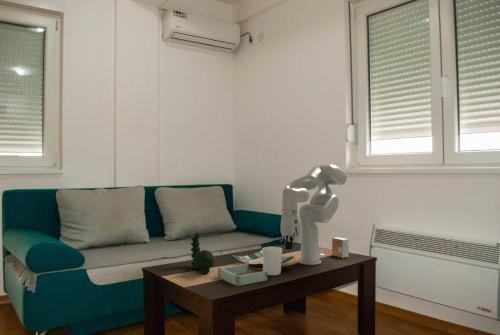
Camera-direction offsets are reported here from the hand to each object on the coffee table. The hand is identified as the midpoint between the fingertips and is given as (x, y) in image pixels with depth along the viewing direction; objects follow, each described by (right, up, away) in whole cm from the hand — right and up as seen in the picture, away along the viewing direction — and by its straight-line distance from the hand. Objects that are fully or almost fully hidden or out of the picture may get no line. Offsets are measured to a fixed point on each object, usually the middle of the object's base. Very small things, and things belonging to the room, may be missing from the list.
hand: (288, 249), depth 195 cm
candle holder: (-9, -11, -6) cm, 15 cm away
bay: (-23, -10, -15) cm, 29 cm away
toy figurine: (-44, -11, -1) cm, 45 cm away
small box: (+33, -11, +31) cm, 47 cm away
